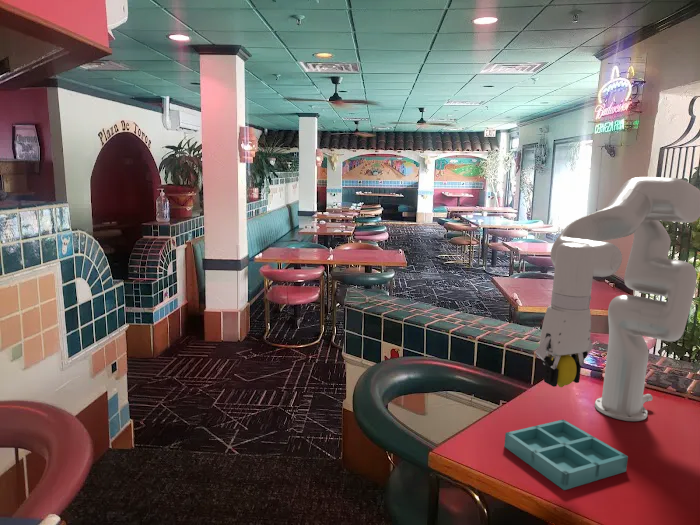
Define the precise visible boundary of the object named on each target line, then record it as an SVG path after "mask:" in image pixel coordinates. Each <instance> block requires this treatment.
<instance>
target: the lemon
mask: <svg viewBox="0 0 700 525" xmlns="http://www.w3.org/2000/svg"><path fill="white" fill-rule="evenodd" d="M553 358H554V356H552V357H551V360H552V361H553ZM556 368H557V369H558V370H559V371H558V380H557V386H558V387H559V388H563V387H565V386H568V385H570V384H572V383H573V380H574V379H575V376H576V372H577V368H576V363H575V360H574V359H573V358H572V357H571V356H570V355H563V356H561V357H560V359H559V362H558V365H557V367H556Z"/></svg>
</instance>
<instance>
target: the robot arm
mask: <svg viewBox="0 0 700 525" xmlns="http://www.w3.org/2000/svg"><path fill="white" fill-rule="evenodd" d="M699 219H700V189H699V188H697V187H696V186H694V185H693V184H691V182H688V181H687V180H684V179H681V178H677V177H663V176H662V177H661V176H660V177H658V176H639V177H638V176H637V177H632V178H630V179H628V180H626V181H625V182H624V183H623V184H622V186H620V188H619V189H618V190H617V192H615V194H614V195H613V197H612V198H611V200H609V202H608V203H607V204H606V206H605V207H603V209H600V210H597V211H594V212H591V213H589V214H587V215H585V216H582V217H580V218H578V219H575V220H574V221H571V222H570V223H569V224H567V225H566V226H565V228H564V229H563V230H562V231H561V233H560V234H559V235H558V237H557V238H556V239H555V241H554V243H553V245H552V246H551V251H550V260H551V263H552V265H553V267H554V273H553V283H552V291H551V301H550V305H549V306H547V309H546V311H545V314H544V317H543V321H542V322H543V323H542V326H541V331H540V332H541V333H540V338H539V346H538V347H537V349H536V350H535V354H536V355H537V357H539V359H540V360H541V361H542V364H543V365H544V366H545V368H544V376H543V381H544V383H545V384H547V385H549V386H551V387H554V388H555V387H557V386H558V384H557V380H558V371H559V370H558V369H557V368H556V367H557V365H558V362H559V359H560V357H561V356H563V355H570V356H571V357H572V358H573V359H574V360H575V363H576V368H577V372H576V376H575V379H574V380H573V382H574V383H575V384H578V383H580V381H581V380H580V379H581V378H580V377H581V370H582V366H583V365H584V363H585V359H586V358H587V357H588V355H589V353H590V352H591V351H592V350H593V349H594V345H593V343H592V342H591V331H592V329H591V328H592V321H591V320H592V318H591V317H592V315H591V308H590V305H591V300H592V289H593V288H592V286H593V277H601V278H605V277H609V276H613V275H614V274H615V273H616V272H617V271H619V269H620V267H621V265H622V261H623V256H622V255H623V254H622V251H621V249H620V248H619V247H618V246H617V245H615V244H613V243H611V242H608V241H611V240H616V239H617V240H618V239H623V238H626V237H628V236H631V235H633V238H632V244H631V249H630V253H629V256H628V260H627V264H626V267H625V271H624V277H623V280H624V285H625V286H626V287H627V288H628V289H629V290H632V291H635V292H639V293H645V294H650V295H655V296H661V297H666V298H667V301H664V300H659V299H658V300H657V299H654V298H650V297H644V296H639V295H638V296H637V295H632V294H621V295H616V296H615V297H614V298H612V299H611V301H610V302H609V305H608V309H607V319H608V344H607V351H606V352H607V353H606V360H605V368H604V370H605V371H604V376H603V377H604V378H603V386H602V393H601V394H602V395H601V397H598V398H596V400H595V402H594V408H595V409H596V410H597V411H598V412H600V413H601V414H602V415H605V416H607V417H609V418H613V419H616V420H620V421H626V422H640V421H644V420H646V419H647V418H648V413H649V412H648V410H647V409H646V408H645V407H644V404H645V403H646V402H647V403H648V402H651V401H653V398H654V397H653V395H652V394H651V393H646V394H644V391H645V382H646V375H647V368H648V360H649V355H650V354H649V348H648V344H647V342H646V340H645V338H644V337H647V338H650V339H651V338H652V339H656V340H661V341H665V342H676V341H678V340H680V339H681V337H682V336H683V335H684V332H685V328H686V325H687V323H688V319H689V315H690V311H691V307H692V302H693V298H694V296H695V292H696V291H695V290H696V286H697V279H698V278H697V277H698V276H697V269H696V268H695V266H694V265H692V263H690V262H687V261H684V260H678V259H671V258H668V255H669V252H670V249H671V248H670V246H671V244H672V242H671V241H672V240H671V236H670V235H669V233H668V231H667V229H666V227H664V225H663V224H662V222H672V223H673V222H675V223H683V224H684V223H685V224H687V223H691V224H692V223H693V222H696V221H697V220H699ZM660 221H662V222H660ZM643 336H644V337H643ZM553 357H554V358H553ZM552 358H553V361H552ZM573 382H572V383H573Z"/></svg>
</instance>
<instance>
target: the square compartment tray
mask: <svg viewBox="0 0 700 525" xmlns="http://www.w3.org/2000/svg"><path fill="white" fill-rule="evenodd" d="M504 448H505V449H506V450H508V451H510V452H511V453H512V454H513V455H514V456H516V457H517V458H519V459H520V460H522V461H523V462H525V464H528V465H529V466H530V467H531V468H532V469H534V470H535V471H537V472H539V474H541V475H542V476H544V477H545V478H546V479H547V480H549V481H551V482H552V483H553V484H555V485H556V486H557V487H558V488H561V489H562V490H563V491H566V490H570V489H574V488H576V487H580V486H583V485H587V484H590V483H593V482H596V481H599V480H602V479H606V478H610V477H612V476H615V475H619V474H622V473H625V472H627V469H628V467H627V466H628V462H629V461H628V460H629V456H628V455H627V454H625V453H623V452H621V451H619V450H618V449H617V448H614V447H612V446H611V445H609V444H608V443H606V442H604V441H603V440H600V439H599V438H598V437H595V436H594V435H591V434H590V433H589V432H586V431H585V430H583V429H581V428H579V427H577V426H576V425H574V424H572V423H570V422H569V421H567V420H566V419H559V420H555V421H551V422H546V423H542V424H538V425H534V426H528V427H526V428H525V427H524V428H521V429H516V430H512V431H508V432H505V436H504Z"/></svg>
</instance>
